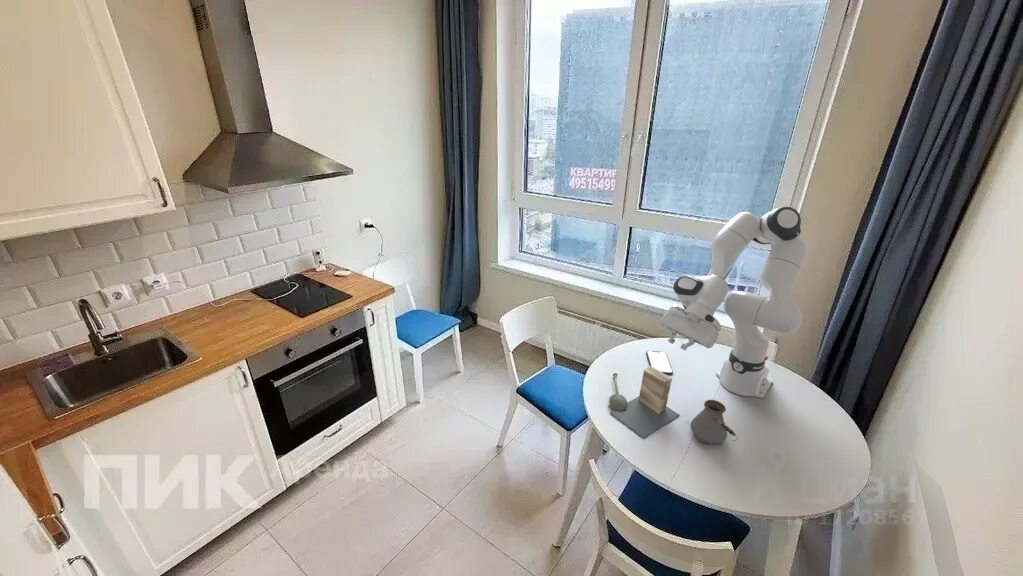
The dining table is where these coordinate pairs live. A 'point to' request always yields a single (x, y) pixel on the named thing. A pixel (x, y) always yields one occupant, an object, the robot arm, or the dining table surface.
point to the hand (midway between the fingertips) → (676, 345)
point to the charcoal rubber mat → (643, 417)
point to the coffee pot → (711, 424)
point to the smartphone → (659, 361)
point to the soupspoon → (617, 399)
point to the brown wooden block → (655, 389)
